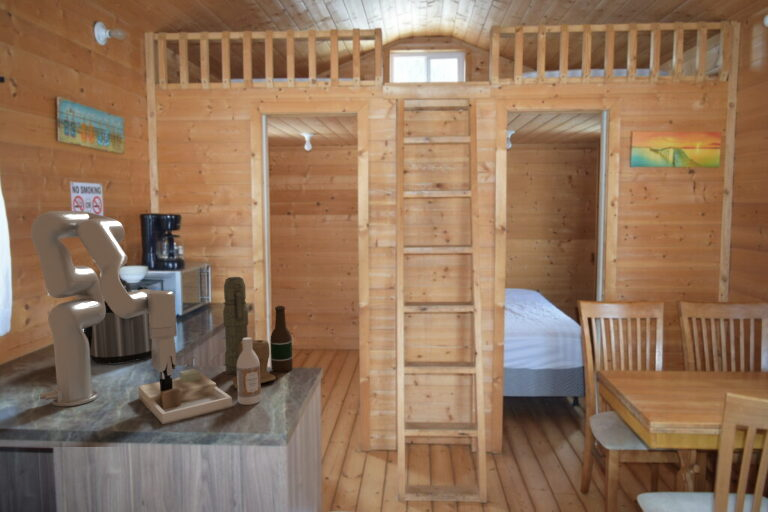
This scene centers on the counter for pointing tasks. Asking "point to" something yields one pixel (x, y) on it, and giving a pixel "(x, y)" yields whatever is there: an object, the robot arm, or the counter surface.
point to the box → (193, 407)
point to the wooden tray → (186, 390)
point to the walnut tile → (170, 398)
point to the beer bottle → (281, 344)
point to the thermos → (234, 320)
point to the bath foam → (248, 375)
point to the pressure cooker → (120, 337)
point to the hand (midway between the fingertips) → (166, 390)
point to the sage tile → (189, 375)
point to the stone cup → (263, 355)
